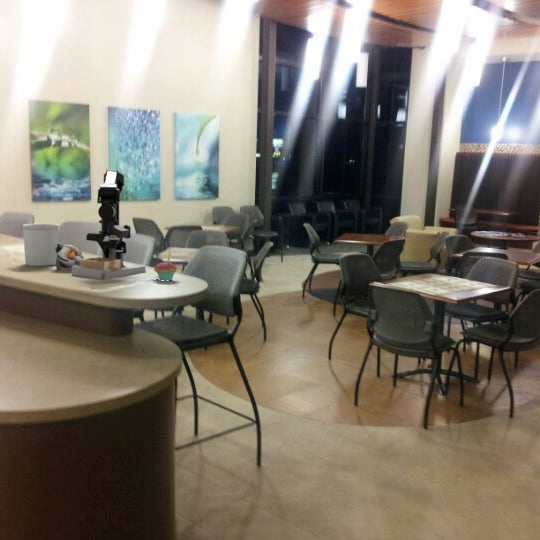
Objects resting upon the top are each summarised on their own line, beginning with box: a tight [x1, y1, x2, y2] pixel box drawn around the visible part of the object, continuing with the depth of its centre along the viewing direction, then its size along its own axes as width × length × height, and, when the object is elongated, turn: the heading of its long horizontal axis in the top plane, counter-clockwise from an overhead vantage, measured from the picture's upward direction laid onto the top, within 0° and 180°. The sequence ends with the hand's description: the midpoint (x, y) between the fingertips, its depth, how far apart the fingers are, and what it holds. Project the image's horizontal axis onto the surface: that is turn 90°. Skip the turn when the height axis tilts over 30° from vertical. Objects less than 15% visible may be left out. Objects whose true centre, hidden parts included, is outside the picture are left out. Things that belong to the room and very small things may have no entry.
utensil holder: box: [21, 223, 60, 267], centre depth 258 cm, size 15×15×18 cm
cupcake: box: [153, 249, 178, 282], centre depth 227 cm, size 9×8×12 cm
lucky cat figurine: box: [55, 243, 86, 271], centre depth 243 cm, size 15×12×14 cm
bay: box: [71, 265, 147, 280], centre depth 233 cm, size 23×17×4 cm
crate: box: [80, 248, 122, 272], centre depth 229 cm, size 11×12×10 cm
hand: (109, 257), depth 232 cm, fingers closed on crate, 2 cm apart
